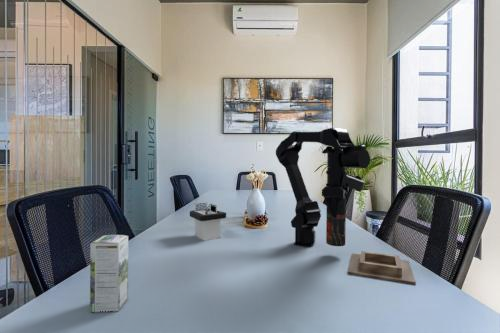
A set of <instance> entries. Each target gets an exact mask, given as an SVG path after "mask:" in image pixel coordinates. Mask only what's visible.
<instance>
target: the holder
mask: <svg viewBox="0 0 500 333" xmlns="http://www.w3.org/2000/svg"><path fill="white" fill-rule="evenodd" d="M347 274H348V275H353V276H359V277H366V278H372V279H373V278H374V279H379V280H384V281H389V282H390V281H392V282H397V283H403V284H404V283H405V284H410V285H416V284H417V283H416V279H415V276H414V273H413V269H412V267H411V264H410V261H409V260H405V259H401V258H400V256H399V255H394V254H386V253H380V252H371V251H364V250H362V251H361V252H360V253H351V258H350V262H349V266H348V270H347Z"/></svg>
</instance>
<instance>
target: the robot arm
mask: <svg viewBox="0 0 500 333" xmlns="http://www.w3.org/2000/svg"><path fill="white" fill-rule="evenodd" d="M294 143H295V144H294ZM303 143H319V144H321V145H324V146H326V148H325V149H323V150H322V151H321V153H322V154H327V162H326V163H327V164H326V166H327V167H326V169H327V170H326V171H325V174H326V179H327V180H326V183H325V186H324V187H323V188H322V189H321V196H322V197H323V198H324V200H325V202H326V206H327V205H328V207H329V209H330V212H331V214H332V217H333V218H336V217H337V213H338V208H339V203H340V201H341V200H342V199H343V198H344V197H346V195H348V192H349V189H352V190H355V191H357V192H359V193H361V192H362V190H363V188H364V185H365V184H366V182H365V181H364V180H362V176H360V175H358V174H357V175H355V176H350V175H348V171H347V169H367V168H368V166H369V165H370V164H371V163H370V162H371V156H370V153H369V151H368V150H367V145H364V144H363V145H361V144H360V145H356V144H355V143H354V141H353V139H352V138H351V137H350V133H349V131H348V130H347V129H345V128H335V127H330V128H325V129H322V130H321V131H297V130H296V131H292V132H291V133H290V134H289V135H288V137H286V138H284V139H283V140H282V141H281V142H280V143H279V144H278V146H277V147H276V149H275V156H276V158H277V160H278V162H279V163H280V164H281V166H283V167H284V168H285V171H286V174H287V177H288V180H289V183H290V186H291V189H292V192H293V195H294V198H295V201H296V203H295V204H296V205H295V209H294V212H295V215H294V217H293V218H292V219H291V221H290V225H291V227H292V228H294V229H295V230H294V231H295V232H294V239H295V240H294V242H293V245H296V246H304V247H313V245H314V244H315V243H316V231H315V227H316V228H317V227H318V225H319V221H320V220H321V217H322V214H321V211H322V210H321V209H320V206H319V203H318V201H317V200H312V199H311V198H310V195H309V193H308V189H307V187H306V184H305V181H304V178H303V175H302V172H301V170H300V167H299V163H298V162H299V159H300V156H299V154H300V151H301V150H302V147H303Z"/></svg>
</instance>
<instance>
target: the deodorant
mask: <svg viewBox="0 0 500 333" xmlns="http://www.w3.org/2000/svg"><path fill="white" fill-rule="evenodd" d="M346 206H347V198H346V196H345V197H344V198H343V199H342V200H341V201H340V203H339V208H338V213H337V217H336V218H333V217H332V214H331V212H330V209H329V207H328V205H327V204H326V223H325V224H326V225H325V226H326V227H325V228H326V232H325V234H326V237H325V239H326V241H325V243H326V244H327V245H329V246H331V247H332V246H333V247H344V246H346V232H347V231H346V219H347V218H346V217H347V216H346V214H347V212H346V210H347V209H346V208H347V207H346Z"/></svg>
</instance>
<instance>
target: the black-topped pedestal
mask: <svg viewBox="0 0 500 333" xmlns="http://www.w3.org/2000/svg"><path fill="white" fill-rule="evenodd" d="M217 209H218V206H217V204H216V205H215V204H213V203H209V205H208V203H205V202H200V203H198V204H197V203H194V210H190V211H189V217H190V218H193V219H194V236H195V235H196V236H197V237H196V236H195V237H196V238H198V237H199V238H198V239H200V238H201V239H202V240H201V239H200V240H201V241H203V240H206V241H210V240H209V239H211V240H215V239H214V238H217V239H221V234H222V233H221V228H222V226H221V220H222V219H226V218H227V212H225V211H220V210H217Z"/></svg>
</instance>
